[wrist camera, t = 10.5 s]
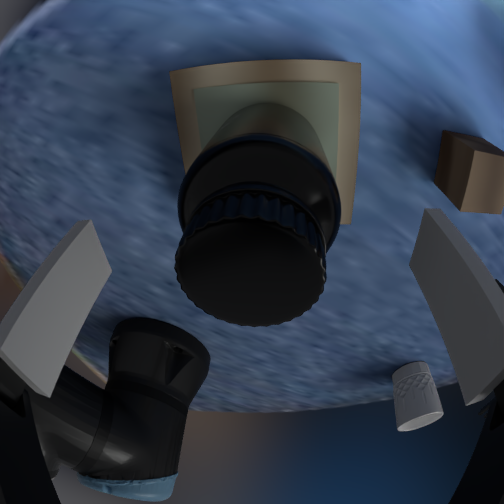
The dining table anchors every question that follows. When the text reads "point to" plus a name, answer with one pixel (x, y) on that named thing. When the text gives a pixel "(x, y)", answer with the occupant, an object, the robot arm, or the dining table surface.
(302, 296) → the supplement bottle
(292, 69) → the plinth
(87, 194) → the dining table surface
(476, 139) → the walnut cube
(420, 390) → the white cup
